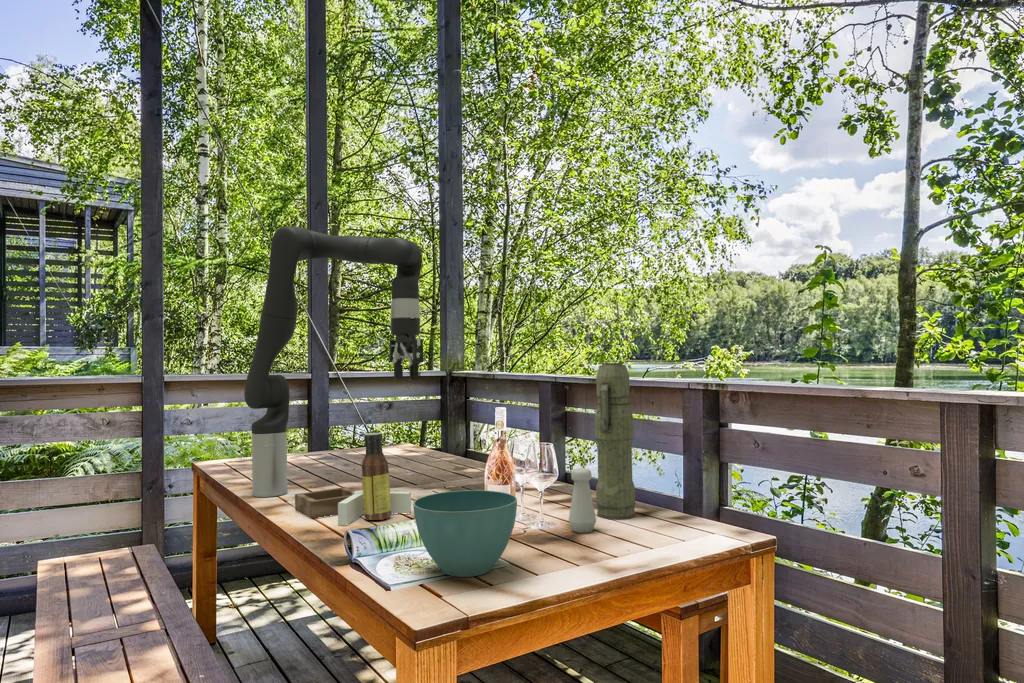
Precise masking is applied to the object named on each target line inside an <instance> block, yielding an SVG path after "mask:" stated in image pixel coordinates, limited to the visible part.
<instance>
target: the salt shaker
mask: <svg viewBox="0 0 1024 683" xmlns="http://www.w3.org/2000/svg"><path fill="white" fill-rule="evenodd" d="M570 474H571V475H570V476H571V477H570V478H571V480H572V481H573V486H572V487H573V488H572V496H571V503H570V509H569V516H568V522H569V524H570V527H571V529H572V532H576V533H579V534H580V533H581V534H584V533H585V534H588V533H591V532H593V531H594V528H595V526H596V523H597V516H596V511H595V506H594V502H593V497H592V492H591V486H590V481H591V480H592V472H591V470H590V469H589V468H583V467H576V468H574V469H572V470H571V473H570Z"/></svg>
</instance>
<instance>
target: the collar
mask: <svg viewBox="0 0 1024 683" xmlns="http://www.w3.org/2000/svg"><path fill="white" fill-rule="evenodd" d="M355 491H356V490H354V489H351V488H348V487H345V486H344V487H336V488H329V489H323V490H317V491H308V492H302V493H296V494H295V493H294V511H295V510H296V511H295V512H297V511H298V512H297V513H299V512H300V513H299V514H301V513H302V514H301V515H303V514H304V515H303V516H305V515H306V516H305V517H307V516H308V518H309V517H311V518H317V519H319V518H318V517H323V518H325V517H324V516H329V517H331V516H330V515H335V516H338V503H339V502H341V501H343V500H345V499H346V498H348V497H350V496H352V492H355ZM311 518H310V519H311Z"/></svg>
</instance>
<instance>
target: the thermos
mask: <svg viewBox="0 0 1024 683" xmlns="http://www.w3.org/2000/svg"><path fill="white" fill-rule="evenodd" d="M596 372H597V374H596V377H595V378H596V379H595V380H596V381H595V382H596V397H597V403H596V410H595V413H594V439H595V441H596V444H597V445H596V446H597V448H596V449H597V483H596V487H595V498H596V499H595V500H596V506H597V512H596V513H597V516H596V517H598V518H601V519H606V520H629V519H632V518H634V517H636V512H635V506H636V486H635V484H634V481H633V452H632V451H633V450H632V448H633V447H632V443H633V440H634V415H633V412H632V409H631V403H630V396H631V395H630V393H631V392H630V391H631V390H630V374H629V371H628V368H627V366H626V364H624V363H622V362H615V363H614V362H611V363H609V362H608V363H607V362H606V363H604V362H603V363H602V364H601V365H599V366H598V370H597V371H596Z"/></svg>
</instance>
